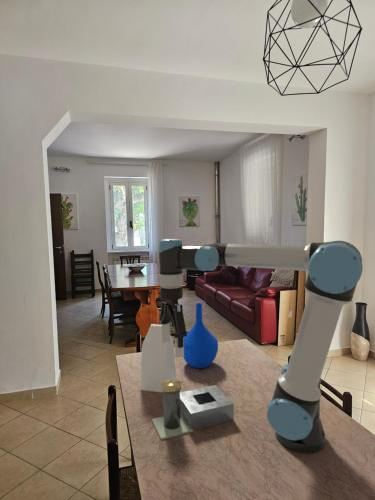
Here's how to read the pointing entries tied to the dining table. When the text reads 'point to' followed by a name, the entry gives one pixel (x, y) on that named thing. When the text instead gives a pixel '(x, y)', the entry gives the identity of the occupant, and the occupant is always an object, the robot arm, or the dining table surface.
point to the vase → (199, 343)
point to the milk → (156, 360)
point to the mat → (169, 433)
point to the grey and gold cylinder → (171, 403)
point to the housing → (205, 407)
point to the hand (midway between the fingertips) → (172, 349)
